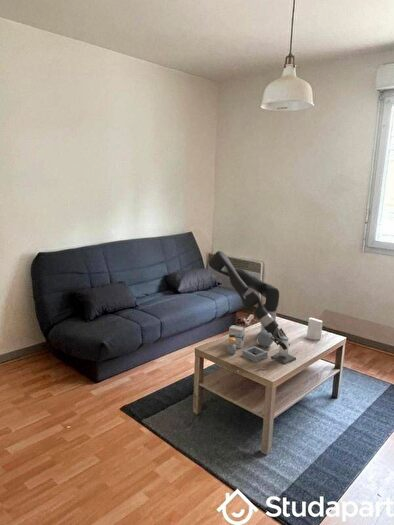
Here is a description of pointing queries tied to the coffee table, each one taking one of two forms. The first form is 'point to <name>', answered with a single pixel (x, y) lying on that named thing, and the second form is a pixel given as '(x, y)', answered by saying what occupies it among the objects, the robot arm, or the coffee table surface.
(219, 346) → the coffee table surface
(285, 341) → the cylinder
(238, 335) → the ink box
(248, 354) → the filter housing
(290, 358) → the rubber mat
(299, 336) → the coffee table surface
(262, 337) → the decorative stone
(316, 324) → the white upright block
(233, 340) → the plunger
